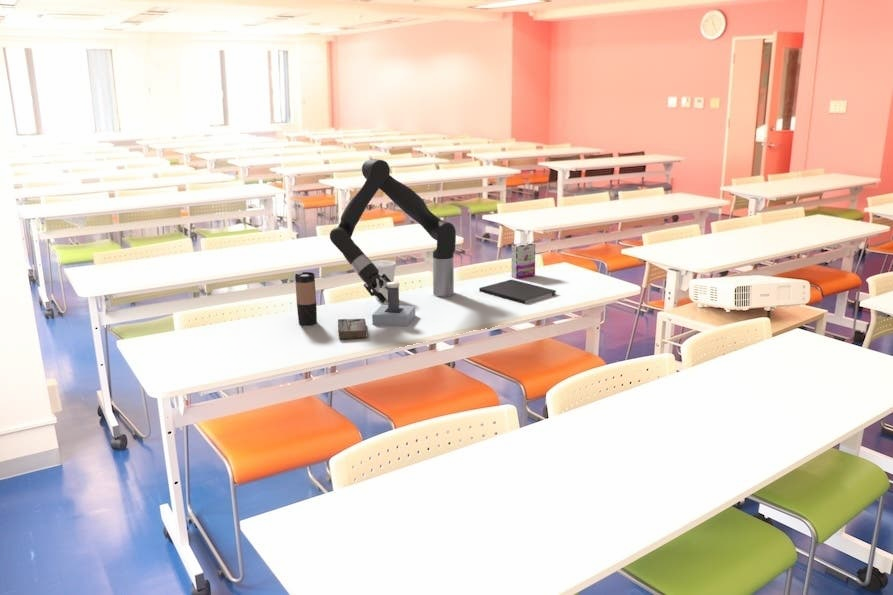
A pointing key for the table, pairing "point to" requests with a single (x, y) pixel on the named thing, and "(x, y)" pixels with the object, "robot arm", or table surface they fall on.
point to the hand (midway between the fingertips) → (390, 298)
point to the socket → (393, 316)
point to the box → (352, 328)
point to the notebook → (518, 291)
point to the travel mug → (306, 298)
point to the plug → (393, 297)
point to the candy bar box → (523, 260)
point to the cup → (388, 270)
